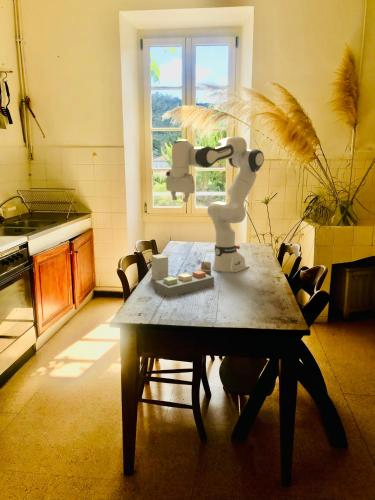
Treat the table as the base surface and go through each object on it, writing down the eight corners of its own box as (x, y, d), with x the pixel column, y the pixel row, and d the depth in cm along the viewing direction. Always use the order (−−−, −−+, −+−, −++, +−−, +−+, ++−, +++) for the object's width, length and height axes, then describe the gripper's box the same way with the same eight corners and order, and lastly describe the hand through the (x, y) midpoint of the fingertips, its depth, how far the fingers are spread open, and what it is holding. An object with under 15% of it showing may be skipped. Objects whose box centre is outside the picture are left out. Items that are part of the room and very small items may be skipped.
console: (199, 279, 210) (199, 271, 209) (213, 285, 201) (214, 277, 200) (155, 290, 194) (155, 281, 193) (168, 296, 184) (168, 287, 183)
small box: (168, 280, 208) (168, 257, 205) (157, 282, 205) (157, 258, 202) (162, 276, 215) (161, 253, 212) (151, 278, 212) (150, 255, 209)
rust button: (199, 277, 205) (199, 270, 204) (205, 280, 202) (205, 272, 201) (192, 279, 202) (192, 271, 201) (198, 281, 199) (198, 274, 198)
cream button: (186, 280, 200) (186, 273, 199) (191, 283, 196) (191, 275, 195) (178, 282, 197) (178, 275, 196) (184, 285, 193) (184, 277, 192)
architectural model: (209, 276, 217) (210, 263, 215) (197, 275, 218) (197, 263, 217) (211, 275, 220) (211, 262, 218) (199, 274, 222) (199, 261, 220)
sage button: (171, 284, 195) (171, 276, 194) (177, 286, 191) (177, 278, 190) (163, 286, 192) (163, 278, 191) (169, 288, 188) (169, 280, 187)
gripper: (198, 174, 189) (197, 202, 192) (174, 172, 205) (173, 199, 208) (187, 174, 185) (187, 203, 188) (163, 172, 201) (163, 199, 204)
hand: (179, 201), depth 198 cm, fingers open, 8 cm apart
